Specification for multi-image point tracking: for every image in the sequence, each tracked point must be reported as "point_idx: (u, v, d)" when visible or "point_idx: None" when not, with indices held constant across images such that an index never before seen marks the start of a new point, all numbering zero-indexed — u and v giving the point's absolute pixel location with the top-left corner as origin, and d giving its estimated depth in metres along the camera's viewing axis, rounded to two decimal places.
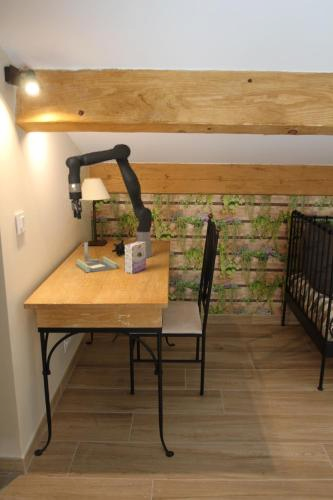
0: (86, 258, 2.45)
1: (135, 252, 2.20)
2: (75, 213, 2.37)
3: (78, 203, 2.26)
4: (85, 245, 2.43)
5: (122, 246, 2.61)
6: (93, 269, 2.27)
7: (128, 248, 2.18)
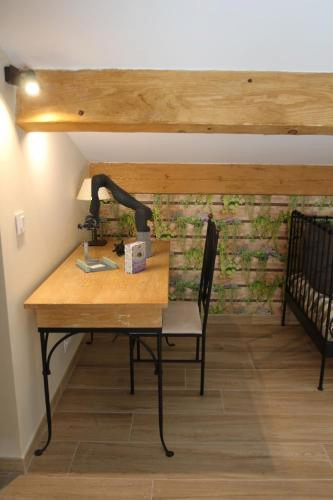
0: (86, 258, 2.45)
1: (135, 252, 2.20)
2: (94, 227, 2.57)
3: None
4: (85, 245, 2.43)
5: (122, 246, 2.61)
6: (93, 269, 2.27)
7: (128, 248, 2.18)
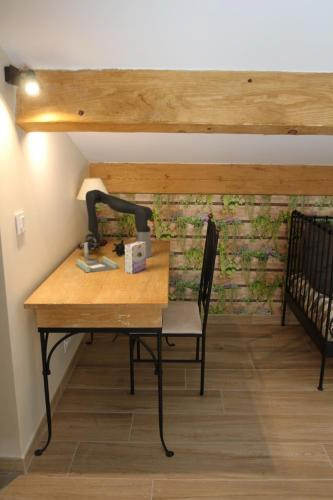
0: (86, 258, 2.45)
1: (135, 252, 2.20)
2: (94, 247, 2.55)
3: None
4: (85, 245, 2.43)
5: (122, 246, 2.61)
6: (93, 269, 2.27)
7: (128, 248, 2.18)
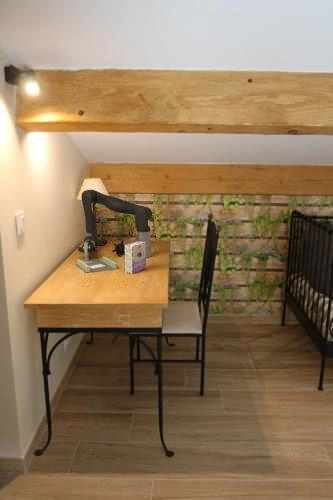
0: (86, 258, 2.45)
1: (135, 252, 2.20)
2: None
3: (77, 249, 2.51)
4: (85, 245, 2.43)
5: (122, 246, 2.61)
6: (93, 269, 2.27)
7: (128, 248, 2.18)
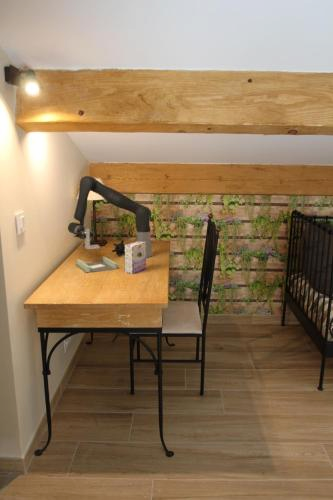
0: (88, 245, 2.35)
1: (135, 252, 2.20)
2: None
3: (74, 235, 2.39)
4: (87, 231, 2.32)
5: (122, 246, 2.61)
6: (93, 269, 2.27)
7: (128, 248, 2.18)
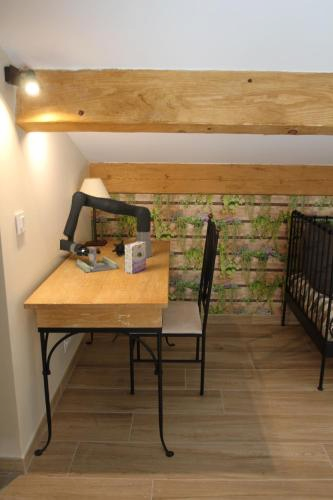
0: (95, 263, 2.30)
1: (135, 252, 2.20)
2: (96, 252, 2.34)
3: (75, 253, 2.31)
4: (94, 250, 2.28)
5: (122, 246, 2.61)
6: (93, 269, 2.27)
7: (128, 248, 2.18)
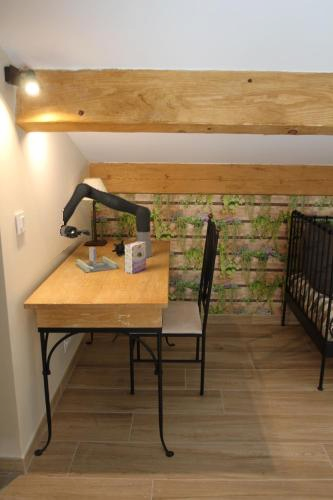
0: (95, 263, 2.30)
1: (135, 252, 2.20)
2: (86, 233, 2.39)
3: (65, 235, 2.37)
4: (94, 250, 2.28)
5: (122, 246, 2.61)
6: (93, 269, 2.27)
7: (128, 248, 2.18)
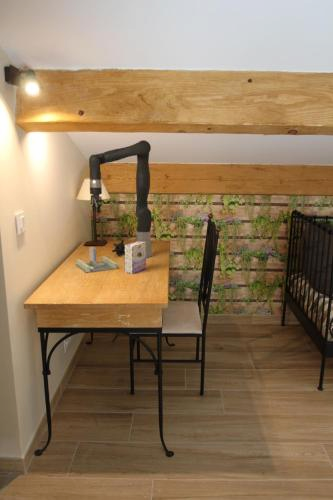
0: (95, 263, 2.30)
1: (135, 252, 2.20)
2: (94, 207, 2.55)
3: (99, 198, 2.44)
4: (94, 250, 2.28)
5: (122, 246, 2.61)
6: (93, 269, 2.27)
7: (128, 248, 2.18)
